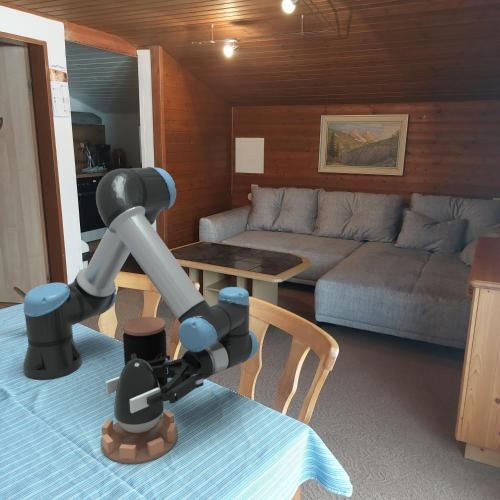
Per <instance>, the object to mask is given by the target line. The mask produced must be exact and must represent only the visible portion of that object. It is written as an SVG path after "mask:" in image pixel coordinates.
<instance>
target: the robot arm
mask: <svg viewBox="0 0 500 500" xmlns="http://www.w3.org/2000/svg"><path fill="white" fill-rule="evenodd" d="M175 185H176V183H175V182H174V179H173V178H172V176H171V174H169V173H168V172H167V170H165V169H163V168H160V167H153V166H147V167H135V168H134V167H132V168H131V167H130V168H116V169H113V170H111V171H108V173H106V174H105V175H104V176H102V178H101V179H100V181H99V182H98V184H97V187H96V192H95V201H96V203H95V204H96V207H97V211H98V214H99V216H100V218H101V220H102V221H103V223H104V225H105V226H106V228H107V229H106V231H105V232H104V234H103V236H102V238H101V239H100V242H99V244H98V246H97V247H96V249H95V251H94V254H93V255H92V257H91V259H90V261H89V263H88V265H87V267H85V268H82V269H80V270H79V271H78V273H77V275H76V276H75V278H74V280H73V281H72V283H69V284H66V283H64V282H51V283H45V284H44V283H43V284H40V285H38V286H36V287H33V288H31V289H30V290H29V291H28V292H26V293H25V294H26V295H25V298H23V314H24V313H25V314H24V317H25V318H24V319H25V326H26V337H27V348H26V353H25V358H24V360H23V373H24V375H25V376H26V377H27V378H31V379H33V380H34V379H35V380H52V379H56V378H60V377H64V376H67V375H69V374H71V373H73V372H75V371H76V370H78V369H79V368H80V367H81V365H82V355H81V354H82V353H81V352H80V350H79V348H78V345H77V343H76V341H75V339H74V335H73V334H74V333H73V326H74V325H76V324H78V323H81V322H84V321H86V320H90V319H91V318H93V317H94V318H95V317H96V316H97V317H98V316H101V315H102V314H104V313H106V312H107V311H109V310H110V309H112V307H114V305H115V303H116V300H117V297H118V295H117V294H116V292H117V287H116V283H115V280H116V278H117V276H118V274H119V273H120V271H121V269H122V267H123V266H124V264H125V262H126V260H127V258H128V257H129V255H130V254H131V255H132V257H133V258H134V259H135V261H136V262H137V264H138V266H140V269H142V271H143V273H145V276H146V277H147V278H148V280H149V281H150V282H151V284H152V285H153V286H154V288H155V289H156V290H157V292H158V294H159V295H160V296H161V298H162V299H163V300H164V302H165V303H166V305H167V307H168V308H169V309H170V311H171V312H172V313H173V315H174V317H175V318H176V319H177V320H178V322H179V324H180V325H179V327H178V331H177V335H178V336H179V337H178V338H179V342H180V343H181V346H182V347H184V348H185V349H186V350H187V351H185V352H184V354H183V355H182V357H181V358H177V359H171V356H170V355H168V354H167V356H164V357H162V358H159V359H155V360H151V361H147V362H148V363H149V365H150V366H151V367H152V369H153V371H154V373H155V375H156V377H157V378H160V377H163V378H164V379H167V378H168V379H170V380H168V383H167V384H166V385H165V386H161V391H160V389H159V388H155V389H153V390H151V391H148V392H146V393H144V394H141V395H139V396H136V397H134V398H132V399H130V412H131V413H134V412H136V411H139V410H141V409H143V408H145V407H148V406H151V405H154V404H156V403H158V402H160V401H163V402H167V401H168V403H169V404H171V405H172V404H175V403H177V402H178V401H180V400H181V399H183V398H184V397H185V396H187V395H188V394H190V393H191V392H192V391H194V390H195V389H197V388H201V387H203V386H204V380H205V379H208V378H210V377H211V376H214V375H217V374H218V373H221V372H223V371H226V370H228V369H230V368H232V367H234V366H235V367H236V366H237V365H239V364H243V363H245V362H247V361H249V360H250V359H252V358H254V357H255V356H256V355H257V353H258V352H259V346H260V345H259V342H258V341H257V339H258V338H257V336H256V334H255V333H254V332H253V331H252V330H251V329H250V306H251V303H250V297H249V295H250V294H249V291H248V290H247V289H245V288H244V287H239V286H238V287H237V286H229V287H228V286H227V287H224V288H222V289H220V290H219V292H218V297H217V300H218V302H217V303H216V304H215V303H214V304H213V305H212V306H210V305H209V303H208V301H206V299H205V298H204V296H203V295H202V294H201V293H200V291H199V290H198V288H197V287H196V285H195V284H194V283H193V281H192V280H191V278H190V277H189V275H188V274H187V273H186V271H185V270H184V269H183V267H182V266H181V264H180V263H179V262H178V260H177V259H176V258H175V256H174V255H173V253H172V252H171V251H170V249H169V247H168V246H167V245H166V243H165V242H164V241H163V239H162V238H161V236H160V235H159V233H158V232H157V231H156V230H155V228H154V227H153V225H154V223H155V222H156V220H157V219H158V216H159V214H160V213H161V212H162V211H167V210H169V209H170V208H171V207H172V206H173V205H174V204H175V202H176V198H177V188H176V186H175ZM166 369H167V374H166ZM119 378H120V375H119V376H116V377H114V378H113V377H112V378H111V379H109V380H105V382H104V383H105V393H106V395H111V394H112V393H116V389H117V385H118V381H119Z"/></svg>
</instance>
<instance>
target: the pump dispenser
mask: <svg viewBox="0 0 500 500" xmlns="http://www.w3.org/2000/svg"><path fill="white" fill-rule="evenodd" d="M119 376H120V378H119V381H118V385H117V389H116V391H115V395H114V403H113V404H114V405H113V415H114V418H115V419H116V421H117V422H118V423H119V425H120V426H121V427H122V428H123V429H124V430H126V431H128V432H132V433H141V432H145V431H148V430H150V429H151V428H153V427H154V426H155V425H156V424H157V423H158V421H159V420H160V417H161V416H162V415H163V411H164V401H160V402H158V403H156V404H154V405H151V406H148V407H145V408H143V409H141V410H139V411H136V412H134V413H131V412H130V399H132V398H134V397H136V396H139V395H141V394H144V393H146V392H148V391H151V390H153V389H155V388H159V389H160V386H159V383H158V380H157V377H156V375H155V373H154V371H153V369H152V367H151V366H150V365H149V363H148V362H147V361H145V360H143V359H137V357H136V354H132V355H131V361H129V362H128V363H127V364H126V365H125V364H124V367H123V369H122V370H121V373H120V375H119ZM160 391H161V389H160Z"/></svg>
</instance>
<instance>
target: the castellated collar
mask: <svg viewBox="0 0 500 500" xmlns="http://www.w3.org/2000/svg"><path fill="white" fill-rule="evenodd" d="M113 420H114V419H110V418H107V419H106V420H105V422H104V424H103V425H102V426H101V440H100V447H101V448H100V449H101V451H102V454H103V455H104V456H105V457H106V458H107V459H109V460H110V461H113V462H114V463H118V464H123V465H124V464H125V465H138V464H144V463H148V462H152V461H155V460H156V459H159V458H161V457H163V456H165V455H167V453H169V452H170V451H171V450H172V449H173V448H174V447H175V445H176V443H177V441H178V436H179V435H178V429H177V428H178V427H177V423H175V422H176V421H175V415H174V414H173V413H172V412H171V411H170V410H169V409H165V410H163V412H162V415H161V417H160V420H159V421H158V423H157V424H156V425H155V426H154V427H153V428H151V429H150V430H148V431H145V432H141V433H132V432H128V431H126V430H124V429H123V428H122V427H121V426H120V425H119V423H118V421H117V422H115V423H114V421H113Z"/></svg>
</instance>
